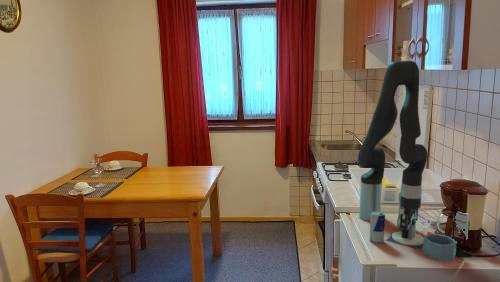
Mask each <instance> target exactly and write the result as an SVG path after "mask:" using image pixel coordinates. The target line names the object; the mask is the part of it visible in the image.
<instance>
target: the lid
mask: <svg viewBox="0 0 500 282" xmlns="http://www.w3.org/2000/svg"><path fill="white" fill-rule="evenodd" d="M404 226H405V224H404ZM416 226H417V224H415V225H413V224H410V226H409V232H408V238H407V239H406V238H402V230H401V231H400V230H398V231H399V232H396V231H395V232H393V233H392V234H391V235H392V239H393V240H394V241H395V242H397V243H400V244H403V245H402V246H404V245H408V246H420V245H423V241H424V238H423V237H424V236H422V235H420V234H419V233H416V230H417V228H416ZM397 243H396V244H397ZM400 244H399V245H400ZM408 246H407V247H408Z"/></svg>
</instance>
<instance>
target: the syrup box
mask: <svg viewBox="0 0 500 282" xmlns="http://www.w3.org/2000/svg"><path fill="white" fill-rule="evenodd" d="M469 218H470V217H469V214H468V213H462V212H457V213H456V216H455V219H456V224H457V225H456V227H458V228H460V229H462V231H463V229H465V231H463V233H464V234H465V236H466V240H467V239H468V231H469V230H468V229H469V226H470V219H469Z"/></svg>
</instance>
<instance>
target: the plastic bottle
mask: <svg viewBox="0 0 500 282" xmlns="http://www.w3.org/2000/svg"><path fill="white" fill-rule="evenodd" d="M400 196H401V190H400V191H399V193H398V196H397V199H398V216H397V219H396V226H397V228H398V229H400V230H402V228H400V217H401V213H402V214H403V211H404V208H403V207H402V206H400Z"/></svg>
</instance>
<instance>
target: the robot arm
mask: <svg viewBox="0 0 500 282" xmlns="http://www.w3.org/2000/svg"><path fill="white" fill-rule="evenodd" d="M399 86H404V87H405V97H404V102H403V104H402V107H401V109H400V112H399V111H398V108H397V104H396V101H395V96H396V92H397V89H398V87H399ZM419 87H420V70H419V66H418V64H417V62H415V61H413V60H397V61H391V62H390V63H389V64H388V65H387V67H386V70H385V72H384V77H383V82H382V85H381V90H380V94H379V97H378V100H377V103H376V106H375V110H374V112H373V115H372V117H371V121H370V124H369V127H368V130H367V133H366V136H365V138H364V140H363V142H362V145H361V146H360V149H359V150H358V154H357V163H358V166H359V167H360V168H363V169H370V170H369V171H367V172H365V173H363V174H362V175H361V177H360V191H359V192H360V194H359V212H358V213H359V214H358V218H359V219H360V220H362V221H366V222H370V219H371V212H373V211H380V212H381V211H382V209H381V206H382V188H383V187H382V186H383V178H384V176H385V174H384V173H385V167H386V153H385V151H384V148H382V147H381V146H380V147H378V146H377V145H378V144H379V143H380V142H381V141H382V140H383V139H385V137H387V136H388V135H389V134H390V133H391V131H392V130H394V129H393V128H394V126H395V123H396V120H397V118H398V112H399V126H400V133H401V134H400V141H399V149H398V151H399V153H398V154H399V156H400V158H401V160H402V162H403V163H405V164H408V166H407V167H406V168H404V169H403V171H402V178H401V185H400V191H401V196H400V206H402V207H403V208H404V211H403V214H402V213H401V217H400V228H402V229H401V231H402V238H406V239H407V238H408V232H409V226H410V224H413V225H416V224H417V221H418V220H419V219H418V218H419V209H420V208H421V206H422V193H423V191H422V190H423V189H422V188H423V187H422V183H423V182H422V181H423V173H424V170H425V168H426V164H427V160H428V150H427V148H426V147H425V145H423V144H420V143H417V142H416V141H417V138H419V137H421V133H422V131H421V125H420V124H421V123H420V115H419V114H420V113H419V96H420V88H419ZM376 146H377V147H376ZM404 224H405V226H404Z"/></svg>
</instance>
